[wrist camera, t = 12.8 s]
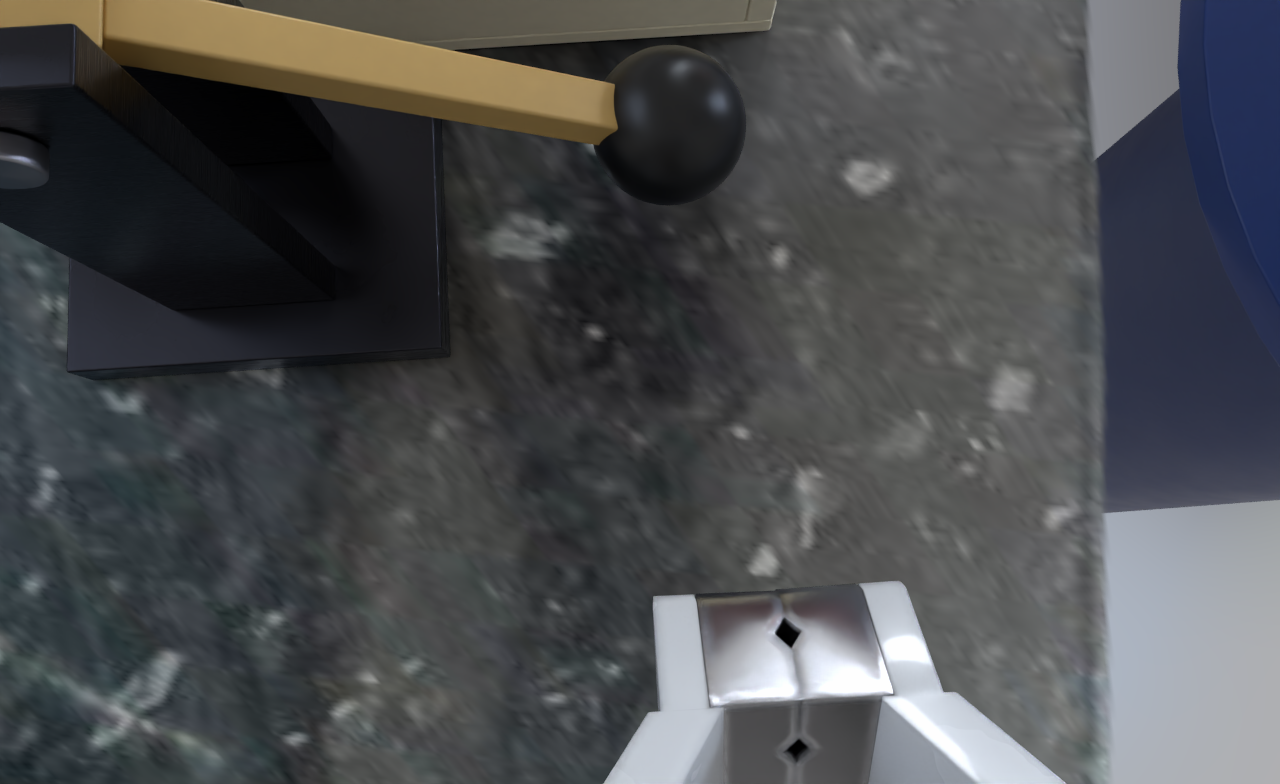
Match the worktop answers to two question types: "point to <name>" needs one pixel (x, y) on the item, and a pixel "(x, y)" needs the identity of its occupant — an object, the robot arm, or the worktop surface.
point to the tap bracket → (220, 215)
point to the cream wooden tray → (527, 19)
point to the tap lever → (440, 83)
